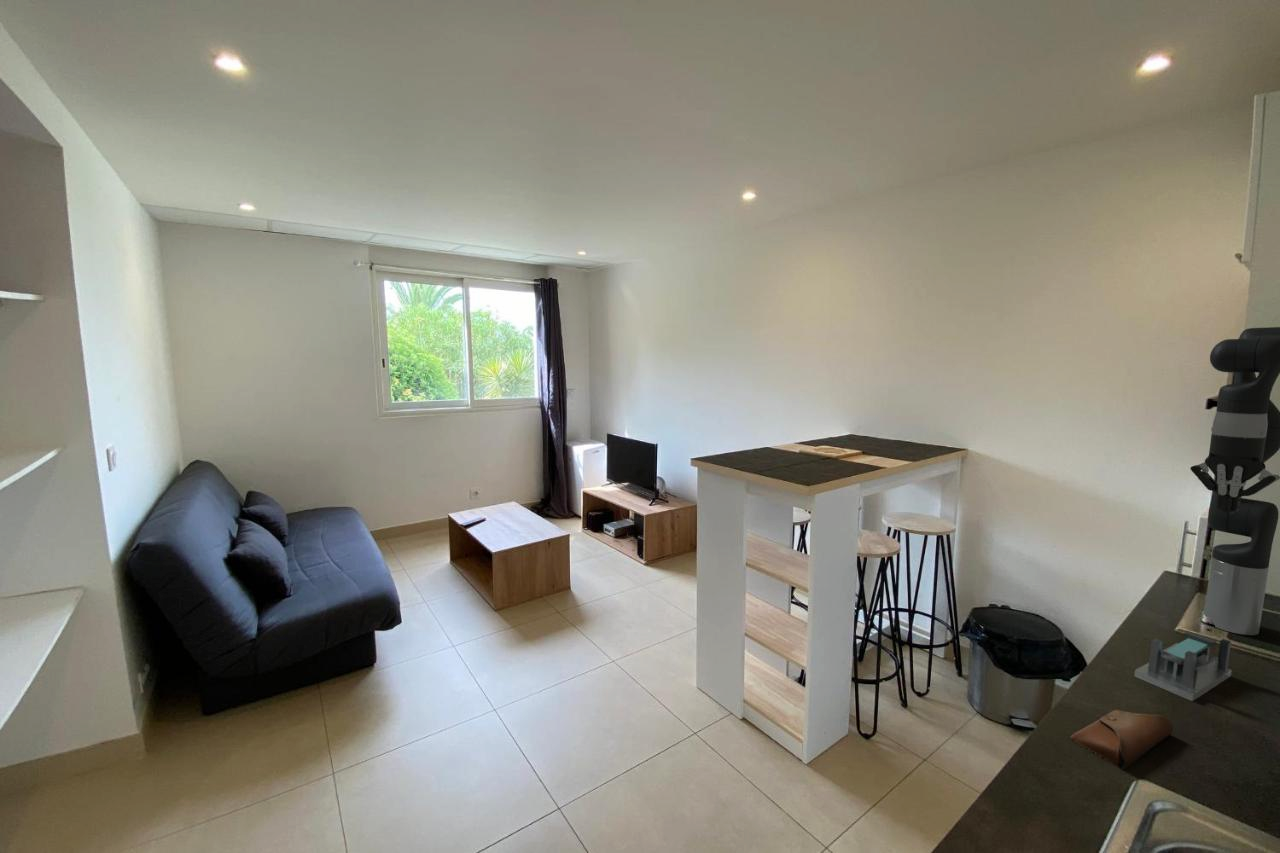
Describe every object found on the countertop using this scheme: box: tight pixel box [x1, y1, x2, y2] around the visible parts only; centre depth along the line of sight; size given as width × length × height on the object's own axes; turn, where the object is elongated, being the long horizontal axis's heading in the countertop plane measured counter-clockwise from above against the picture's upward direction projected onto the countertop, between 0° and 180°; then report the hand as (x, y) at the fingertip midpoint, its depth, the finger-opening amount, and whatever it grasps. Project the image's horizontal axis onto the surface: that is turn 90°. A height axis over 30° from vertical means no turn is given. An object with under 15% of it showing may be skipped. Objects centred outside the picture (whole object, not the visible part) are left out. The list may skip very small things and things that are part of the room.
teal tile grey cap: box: [1161, 631, 1217, 665], centre depth 109 cm, size 14×4×2 cm, turn 115°
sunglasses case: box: [1070, 709, 1174, 770], centre depth 92 cm, size 18×7×7 cm
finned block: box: [1134, 638, 1232, 702], centre depth 109 cm, size 18×9×8 cm, turn 115°
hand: (1227, 512), depth 110 cm, fingers closed
